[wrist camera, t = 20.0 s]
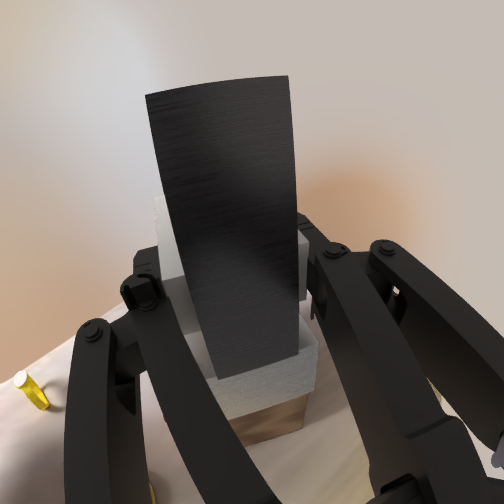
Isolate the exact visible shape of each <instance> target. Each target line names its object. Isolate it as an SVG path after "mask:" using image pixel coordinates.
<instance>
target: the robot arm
mask: <svg viewBox="0 0 504 504" xmlns="http://www.w3.org/2000/svg"><path fill="white" fill-rule="evenodd" d="M154 210H155V222H156V232H157V242H158V246H154V247H150V248H146V249H142V250H139V251H138V252H137V253H136V255H135V257H134V259H133V274H132V275H131V276H129V277H128V278H127V279H125V280H124V281H123V283H122V285H121V287H120V293H121V295H122V297H123V299H124V302H125V304H126V306H127V308H128V310H129V311H128V312H127V313H126V314H125V315H124V316H122V317H121V318H119V319H117V320H115V321H114V322H112V323H110V324H109V323H108V322H107V320H104V319H102V318H95V319H92V320H89V321H87V322H86V323H84V324H83V325H82V326H81V327H80V328H79V330H78V331H77V334H76V337H75V342H74V348H73V354H72V361H71V368H70V375H69V383H68V392H67V402H66V415H65V432H64V487H65V503H66V504H153V503H152V497H151V491H150V485H149V478H148V471H147V463H146V455H145V446H144V436H143V425H142V412H141V395H140V374H141V373H142V372H144V371H146V370H147V372H148V375H149V378H150V381H151V383H152V386H153V389H154V392H155V394H156V397H157V400H158V402H159V405H160V407H161V410H162V413H163V415H164V418H165V420H166V422H167V425H168V427H169V430H170V432H171V434H172V437H173V439H174V441H175V443H176V446H177V448H178V450H179V452H180V454H181V457H182V459H183V461H184V463H185V465H186V467H187V469H188V471H189V473H190V475H191V477H192V479H193V481H194V483H195V485H196V487H197V489H198V491H199V493H200V494H201V496H202V498H203V500H204V502H205V504H282V503H281V502H280V501H279V499H278V498H277V497H276V496H275V494H274V493H273V492H272V490H271V489H270V487H269V486H268V484H267V483H266V481H265V480H264V478H263V477H262V475H261V474H260V472H259V471H258V469H257V468H256V466H255V464H254V463H253V461H252V460H251V458H250V457H249V455H248V453H247V452H246V450H245V448H244V447H243V445H242V444H241V442H240V440H239V439H238V437H237V435H236V434H235V432H234V430H233V428H232V427H231V425H230V423H229V422H228V420H227V418H226V416H225V414H224V413H223V411H222V409H221V407H220V406H219V404H218V402H217V400H216V398H215V396H214V395H213V393H212V391H211V389H210V387H209V385H208V383H207V381H206V379H205V378H204V376H203V374H202V372H201V370H200V368H199V366H198V364H197V362H196V360H195V358H194V356H193V354H192V352H191V350H190V348H189V346H188V343H187V341H186V339H185V337H184V335H188V334H191V333H195V332H199V331H201V328H200V325H199V322H198V318H197V315H196V312H195V309H194V305H193V302H192V298H191V295H190V292H189V288H188V285H187V281H186V278H185V274H184V271H183V267H182V263H181V260H180V256H179V252H178V248H177V244H176V241H175V237H174V233H173V229H172V225H171V221H170V217H169V212H168V208H167V204H166V200H165V195H160V196H156V197H154ZM297 221H298V257H299V302H300V301H303V300H306V296H307V289H308V291H309V292H310V294H311V295H312V303H311V315H310V316H311V320H312V319H314V313H315V315H316V318H317V320H318V323H319V325H320V328H321V330H322V333H323V335H324V338H325V340H326V343H327V346H328V348H329V351H330V353H331V356H332V359H333V361H334V364H335V366H336V369H337V372H338V374H339V377H340V380H341V382H342V385H343V388H344V391H345V393H346V396H347V399H348V401H349V404H350V407H351V410H352V412H353V415H354V418H355V421H356V424H357V426H358V429H359V432H360V435H361V438H362V441H363V444H364V446H365V449H366V452H367V455H368V458H369V463H370V466H369V478H370V482H371V485H372V488H373V491H374V494H375V498H373V499H371V500H370V501H368V502H367V503H366V504H504V480H501V479H495V478H490V477H487V475H486V473H485V471H484V468H483V465H482V463H481V460H480V458H479V456H478V453H477V451H476V449H475V446H474V444H473V442H472V440H471V437H470V435H469V433H468V431H467V428H466V427H465V425H464V423H465V424H466V425H467V427H468V428H469V429H470V430H471V431H472V432H473V434H474V435H475V436H476V437H477V438H478V439H479V440H480V441H481V442H482V443H483V444H484V445H485V446H487V447H488V448H489V449H491V450H492V451H494V452H495V453H494V454H493V455H492V458H491V464H492V465H493V467H495V468H499V467H502V468H503V469H504V338H503V337H502V336H501V335H500V334H499V333H498V332H497V331H496V330H495V329H494V328H493V327H492V326H491V325H490V324H489V323H488V322H487V321H486V320H485V319H484V318H483V317H482V316H481V315H480V314H479V313H478V312H477V311H476V310H475V309H474V308H472V307H471V306H470V305H469V304H468V303H467V302H466V301H465V300H464V299H463V298H462V297H460V296H459V295H458V294H457V293H456V292H455V291H454V290H453V289H451V288H450V287H449V286H448V285H447V284H446V283H445V282H443V281H442V280H441V279H440V278H439V277H438V276H436V275H435V274H434V273H433V272H432V271H430V270H429V269H428V268H427V267H426V266H424V265H423V264H422V263H421V262H419V261H418V260H417V259H416V258H415V257H414V256H412V255H411V254H410V253H409V252H407V251H406V250H405V249H404V248H402V247H401V246H400V245H398V244H397V243H395V242H393V241H390V240H376V241H374V242H373V243H372V244H371V246H370V251H368V252H351V251H350V249H349V248H347V246H345V245H343V244H340V243H336V242H330V241H329V240H328V239H327V238H326V237H325V236H324V235H323V234H322V233H321V232H320V231H319V230H318V229H317V228H315V226H314V225H313V224H312V223H311V222H310V220H309V219H307V217H306V216H305V215H302V214H300V213H298V212H297ZM394 286H395V287H396V288H397V289H398V290H399V294H396V293H395V292H394V291H393V289H394ZM426 377H427V378H428V379H429V380H430V382H431V383H432V384H433V385H434V386H435V388H436V389H437V390H438V391H439V392H440V393H441V395H442V396H443V397H444V398H445V399H446V401H447V402H448V403H449V404H450V405H451V407H452V408H453V409H454V410H455V412H456V413H457V414H458V415H459V416H460V418H461V419H462V420H463V422H464V423H463V422H462V421H461V420H460V419H459V418H457V417H454V416H450V415H447V414H446V413H445V412H444V411H443V409H442V407H441V405H440V403H439V401H438V399H437V397H436V395H435V393H434V391H433V389H432V387H431V385H430V383H429V381H428V379H427V378H426Z"/></svg>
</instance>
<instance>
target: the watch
mask: <svg viewBox="0 0 504 504" xmlns="http://www.w3.org/2000/svg"><path fill="white" fill-rule="evenodd" d="M13 382H14V385H15V386H16V387H17V388H18V389H22V391H23V392H24V394H25V395H26V396H27V398H28V399H29V400H30V401H31V402H32V403H33V404H34V405H35V406H36V407H37V408H38V409H40V410H42V411H44V410H45V409H46V408H47V407H48V406H49V403H48V401H47V399H46V397H45V396H44V394H43V392H42V390H41V389H40V388H39V387H38V385H37V384H36V383H35V382H34V380H33V379H32V378H31V377H30V376H29V375H28V374H27V373H26V372H25V371H19V372H18V373H17V374H16V375H15V377H14V381H13Z"/></svg>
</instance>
